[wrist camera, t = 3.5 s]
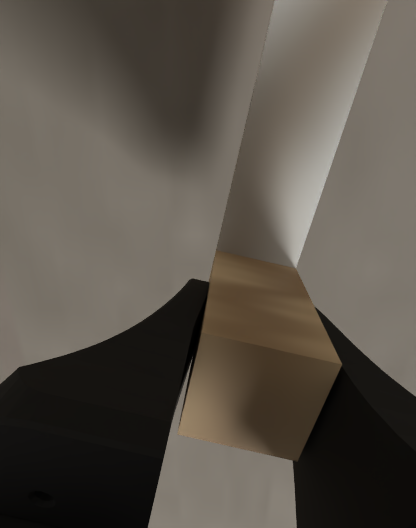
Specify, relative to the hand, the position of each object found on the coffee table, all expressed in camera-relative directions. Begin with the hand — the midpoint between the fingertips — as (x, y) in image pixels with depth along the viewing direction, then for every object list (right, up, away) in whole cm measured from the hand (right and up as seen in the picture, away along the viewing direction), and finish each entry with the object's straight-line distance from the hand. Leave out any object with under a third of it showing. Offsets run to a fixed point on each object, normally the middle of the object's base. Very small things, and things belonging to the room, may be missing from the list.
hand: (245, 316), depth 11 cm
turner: (+1, +5, 0) cm, 6 cm away
